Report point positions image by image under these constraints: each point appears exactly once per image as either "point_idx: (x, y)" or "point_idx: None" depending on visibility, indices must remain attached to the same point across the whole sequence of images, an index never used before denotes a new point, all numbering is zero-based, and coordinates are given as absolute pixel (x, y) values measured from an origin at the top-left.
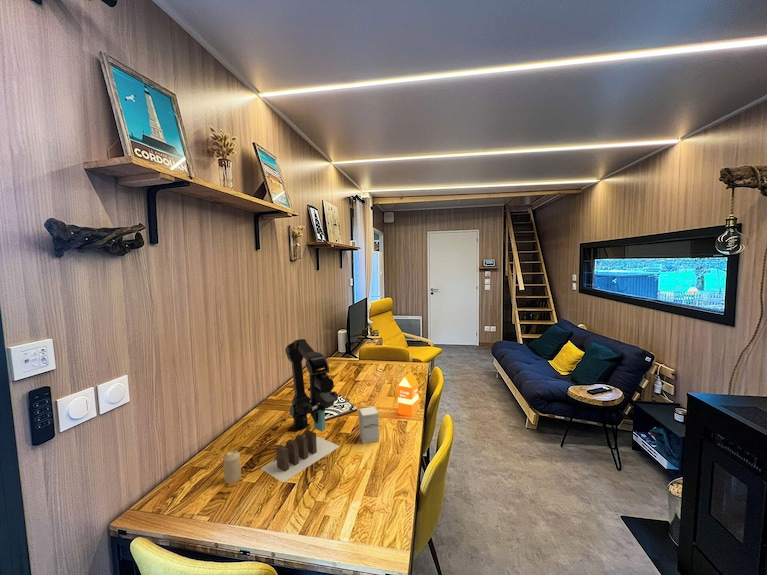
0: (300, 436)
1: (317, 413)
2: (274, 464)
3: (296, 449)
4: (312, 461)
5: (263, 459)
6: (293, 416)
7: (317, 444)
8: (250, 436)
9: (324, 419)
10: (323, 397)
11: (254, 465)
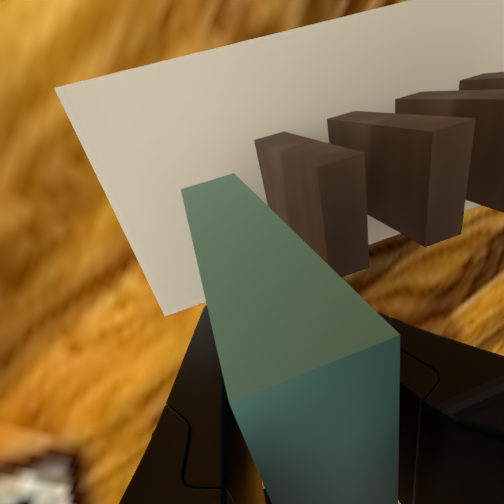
0: (443, 207)
1: (413, 374)
2: None
3: (499, 95)
4: (332, 46)
5: (452, 261)
6: (269, 499)
7: None
8: None
9: (205, 243)
10: None
11: (496, 239)
